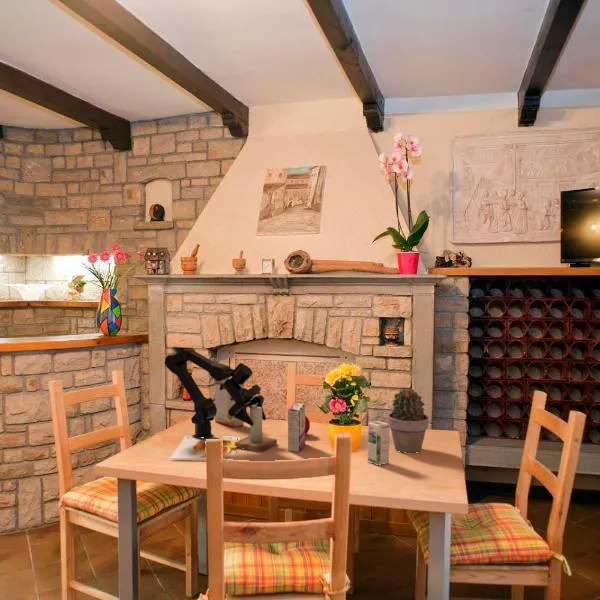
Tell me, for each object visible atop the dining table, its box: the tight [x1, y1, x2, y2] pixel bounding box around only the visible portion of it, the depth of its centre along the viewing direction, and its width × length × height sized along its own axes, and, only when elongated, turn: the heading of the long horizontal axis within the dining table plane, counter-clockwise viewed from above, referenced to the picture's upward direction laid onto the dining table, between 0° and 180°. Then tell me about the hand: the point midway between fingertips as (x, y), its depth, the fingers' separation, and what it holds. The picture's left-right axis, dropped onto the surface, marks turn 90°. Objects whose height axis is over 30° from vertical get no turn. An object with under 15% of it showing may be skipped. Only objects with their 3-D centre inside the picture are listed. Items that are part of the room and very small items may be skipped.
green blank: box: [249, 406, 263, 443], centre depth 219 cm, size 5×5×13 cm
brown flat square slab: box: [234, 435, 278, 453], centre depth 219 cm, size 12×12×2 cm
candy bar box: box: [287, 402, 306, 453], centre depth 217 cm, size 11×5×16 cm, turn 168°
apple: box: [305, 415, 311, 436], centre depth 235 cm, size 9×9×10 cm
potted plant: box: [387, 388, 432, 454], centre depth 216 cm, size 18×20×25 cm
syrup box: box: [367, 420, 391, 465], centre depth 200 cm, size 6×6×14 cm
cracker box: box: [214, 376, 245, 428], centre depth 252 cm, size 14×6×21 cm, turn 47°
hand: (259, 422), depth 218 cm, fingers open, 9 cm apart
